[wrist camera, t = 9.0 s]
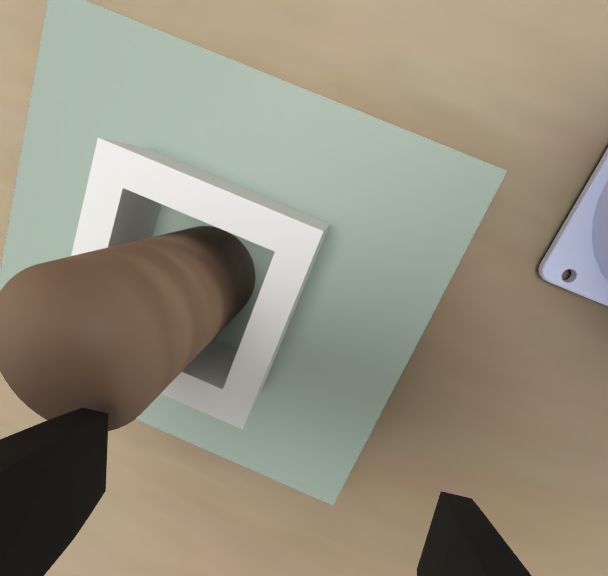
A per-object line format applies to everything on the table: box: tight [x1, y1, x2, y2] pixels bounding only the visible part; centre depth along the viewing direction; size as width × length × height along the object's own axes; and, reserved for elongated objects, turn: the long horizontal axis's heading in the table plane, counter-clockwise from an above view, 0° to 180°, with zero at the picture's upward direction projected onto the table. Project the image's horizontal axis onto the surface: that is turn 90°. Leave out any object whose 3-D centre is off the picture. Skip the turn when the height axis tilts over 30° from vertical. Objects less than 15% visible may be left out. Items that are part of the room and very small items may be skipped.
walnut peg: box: [0, 226, 255, 431], centre depth 12 cm, size 4×4×8 cm
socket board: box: [0, 0, 507, 506], centre depth 15 cm, size 18×16×4 cm
